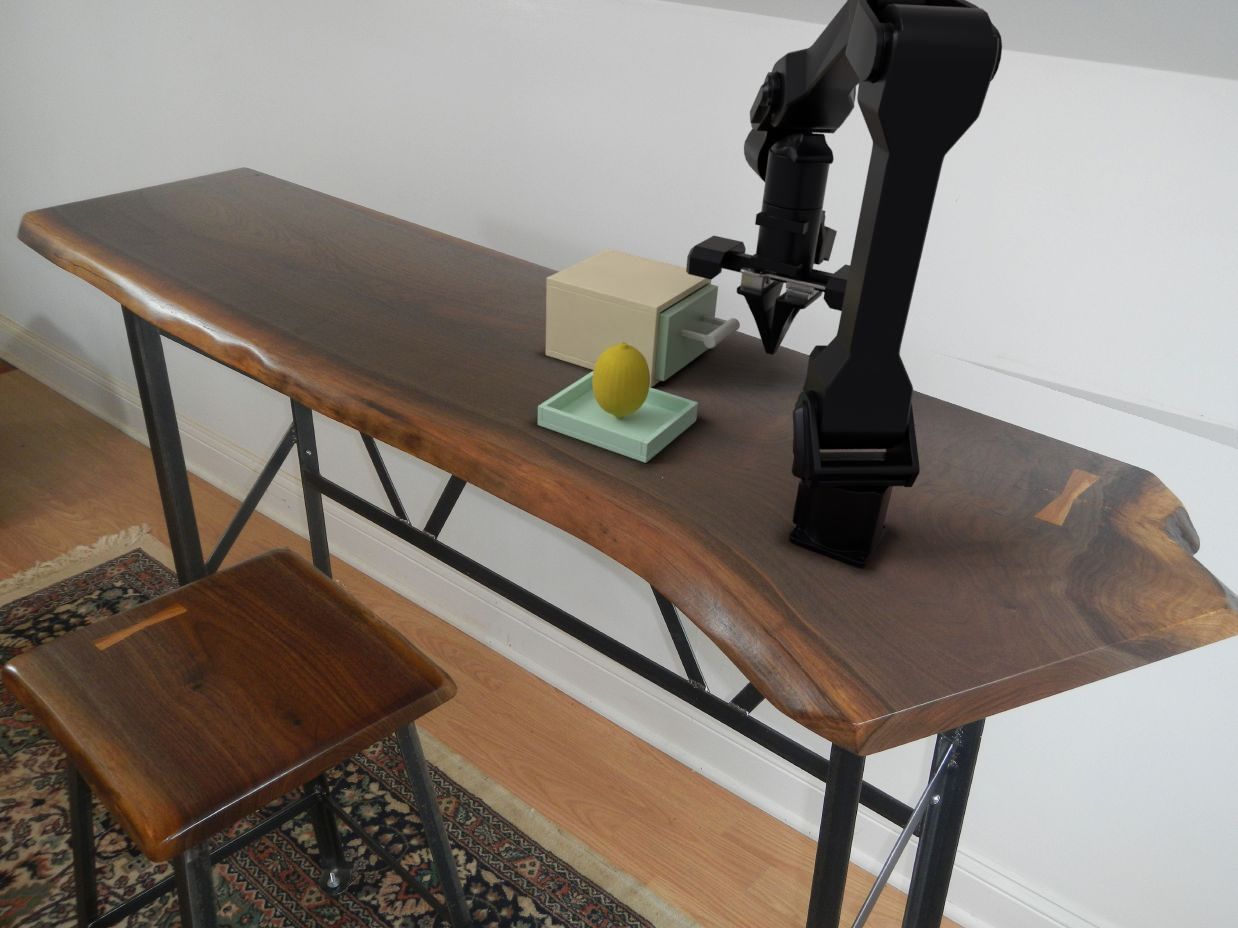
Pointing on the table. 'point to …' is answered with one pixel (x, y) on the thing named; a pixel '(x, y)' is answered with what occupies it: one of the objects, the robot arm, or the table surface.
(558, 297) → the cabinet
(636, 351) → the lemon
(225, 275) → the table surface
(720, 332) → the drawer
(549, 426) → the tray
